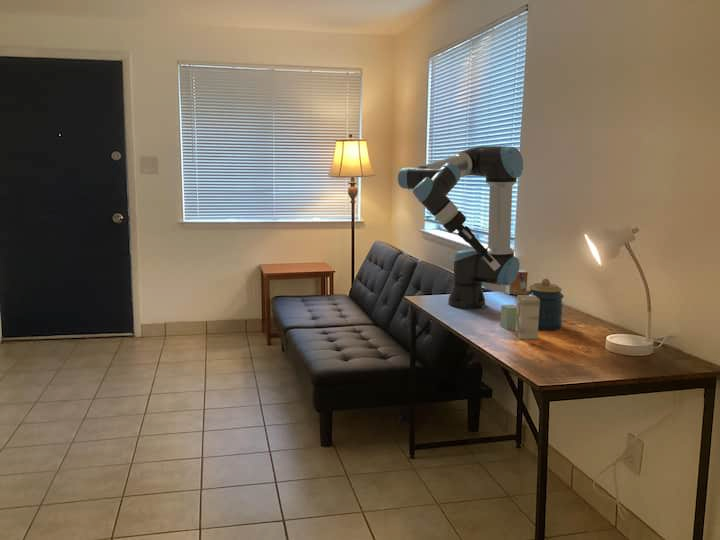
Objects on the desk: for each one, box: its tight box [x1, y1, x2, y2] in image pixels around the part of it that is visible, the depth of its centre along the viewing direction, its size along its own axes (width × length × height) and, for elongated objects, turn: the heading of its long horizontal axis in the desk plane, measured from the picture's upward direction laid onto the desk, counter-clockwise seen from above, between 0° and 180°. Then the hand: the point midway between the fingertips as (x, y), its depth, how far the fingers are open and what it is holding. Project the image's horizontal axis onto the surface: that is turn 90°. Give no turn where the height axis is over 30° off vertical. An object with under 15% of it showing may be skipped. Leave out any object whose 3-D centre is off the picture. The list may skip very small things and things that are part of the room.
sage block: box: [499, 304, 517, 331], centre depth 228 cm, size 4×4×8 cm
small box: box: [505, 269, 529, 295], centre depth 286 cm, size 8×6×10 cm
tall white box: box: [514, 294, 540, 341], centre depth 216 cm, size 6×6×14 cm
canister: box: [526, 278, 565, 331], centre depth 230 cm, size 13×13×18 cm
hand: (497, 267), depth 214 cm, fingers closed
